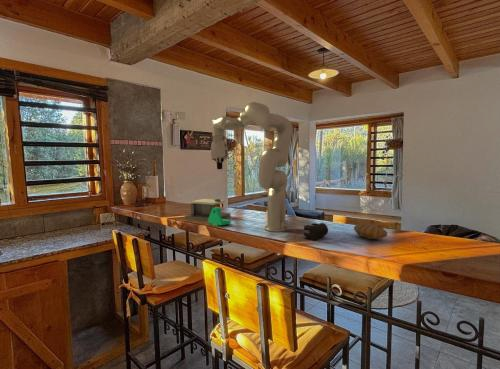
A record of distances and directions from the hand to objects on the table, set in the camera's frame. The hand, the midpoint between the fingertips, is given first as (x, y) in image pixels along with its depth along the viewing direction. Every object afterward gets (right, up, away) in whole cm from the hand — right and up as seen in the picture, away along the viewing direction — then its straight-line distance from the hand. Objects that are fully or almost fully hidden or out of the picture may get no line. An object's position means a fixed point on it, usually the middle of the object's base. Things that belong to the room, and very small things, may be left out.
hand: (219, 169), depth 173 cm
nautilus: (+76, -35, -42) cm, 93 cm away
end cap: (+49, -35, -43) cm, 74 cm away
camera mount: (+1, -33, -11) cm, 35 cm away
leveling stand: (-9, -31, +10) cm, 34 cm away
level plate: (-8, -21, +9) cm, 24 cm away
